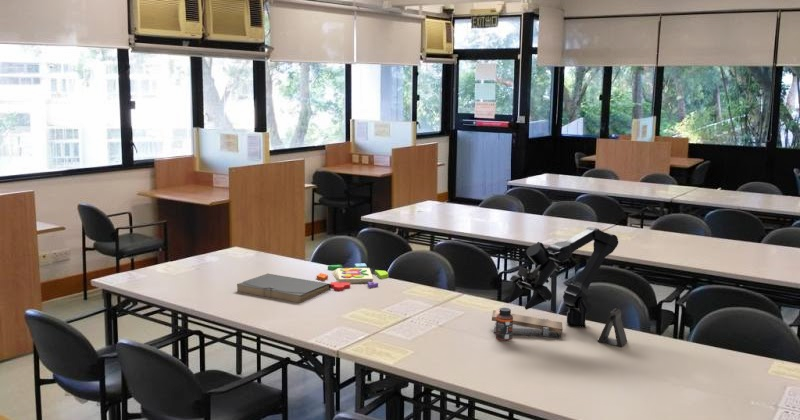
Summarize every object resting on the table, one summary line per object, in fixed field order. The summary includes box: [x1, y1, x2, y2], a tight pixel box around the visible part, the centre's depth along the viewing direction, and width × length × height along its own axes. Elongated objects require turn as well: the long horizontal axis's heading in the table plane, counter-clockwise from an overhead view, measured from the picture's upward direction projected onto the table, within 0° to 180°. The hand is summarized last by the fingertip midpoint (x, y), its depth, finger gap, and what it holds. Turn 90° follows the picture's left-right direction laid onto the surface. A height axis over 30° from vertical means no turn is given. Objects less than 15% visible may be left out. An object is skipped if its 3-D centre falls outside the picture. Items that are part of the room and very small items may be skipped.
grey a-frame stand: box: [597, 308, 628, 348], centre depth 264 cm, size 9×6×12 cm, turn 55°
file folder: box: [236, 273, 332, 304], centre depth 321 cm, size 33×4×24 cm
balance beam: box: [491, 310, 564, 334], centre depth 274 cm, size 26×8×2 cm, turn 80°
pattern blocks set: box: [316, 262, 389, 292], centre depth 344 cm, size 38×34×3 cm
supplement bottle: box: [495, 307, 513, 342], centre depth 265 cm, size 6×6×11 cm
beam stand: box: [493, 318, 560, 340], centre depth 275 cm, size 24×11×4 cm, turn 80°
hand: (517, 305), depth 266 cm, fingers open, 9 cm apart
